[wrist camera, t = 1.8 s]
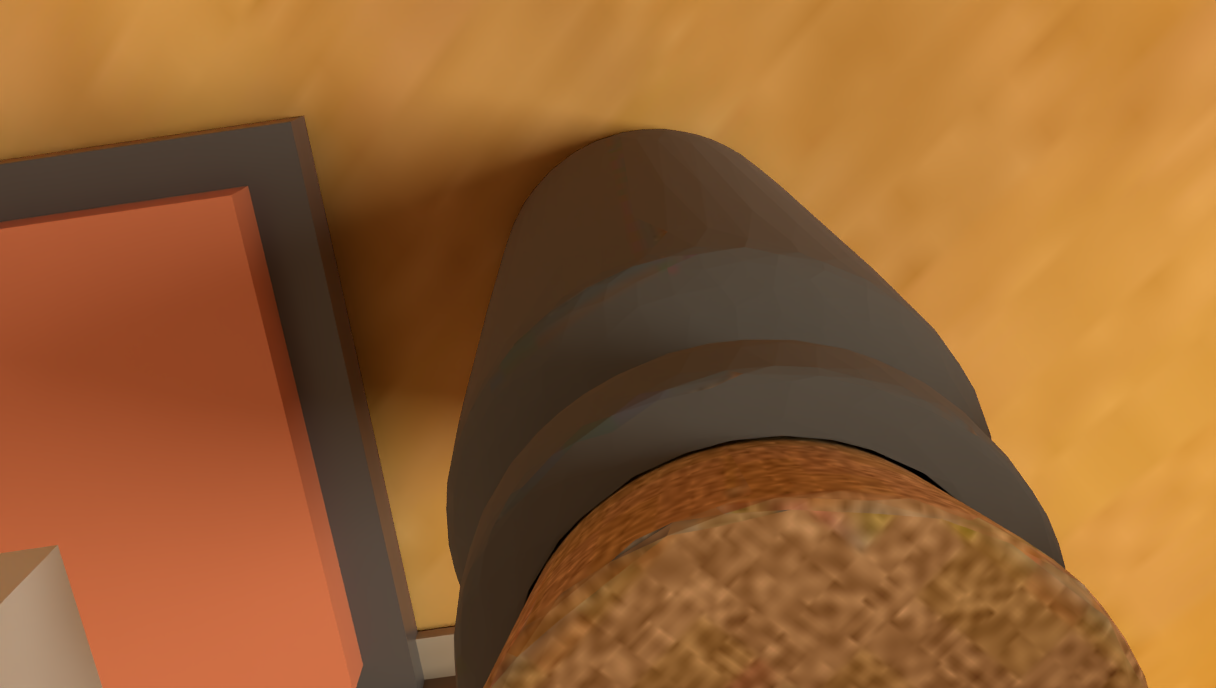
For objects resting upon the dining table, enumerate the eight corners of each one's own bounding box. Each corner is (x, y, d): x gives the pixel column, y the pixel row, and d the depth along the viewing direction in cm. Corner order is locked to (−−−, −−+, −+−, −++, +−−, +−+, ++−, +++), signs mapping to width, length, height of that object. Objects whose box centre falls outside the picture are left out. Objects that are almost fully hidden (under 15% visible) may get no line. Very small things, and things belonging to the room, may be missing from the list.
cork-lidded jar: (601, 467, 23) (651, 1269, 8) (444, 227, 21) (174, 709, 7) (853, 325, 22) (1383, 938, 8) (710, 65, 20) (1039, 221, 6)
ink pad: (-333, 209, 21) (-426, 230, 19) (303, 115, 20) (276, 127, 18) (-117, 747, 24) (-176, 812, 22) (426, 671, 24) (413, 729, 22)
